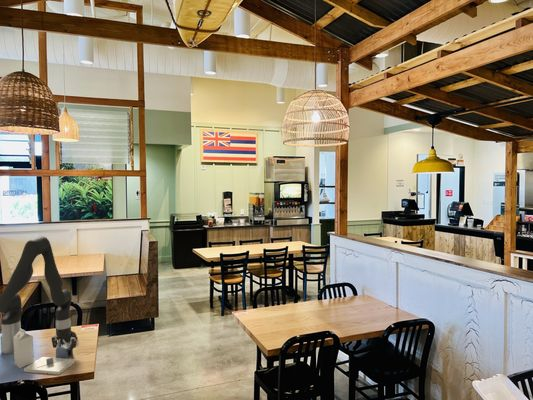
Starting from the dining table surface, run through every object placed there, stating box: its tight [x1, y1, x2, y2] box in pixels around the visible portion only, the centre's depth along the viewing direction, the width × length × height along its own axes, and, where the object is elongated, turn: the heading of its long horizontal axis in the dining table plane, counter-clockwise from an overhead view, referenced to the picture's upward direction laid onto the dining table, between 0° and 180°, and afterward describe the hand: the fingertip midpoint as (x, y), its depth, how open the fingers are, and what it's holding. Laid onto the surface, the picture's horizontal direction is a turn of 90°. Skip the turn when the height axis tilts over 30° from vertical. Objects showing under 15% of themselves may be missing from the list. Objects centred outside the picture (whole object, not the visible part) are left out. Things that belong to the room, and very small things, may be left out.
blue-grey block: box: [55, 344, 74, 359], centre depth 215 cm, size 6×6×5 cm
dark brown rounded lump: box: [61, 330, 78, 346], centre depth 233 cm, size 12×10×8 cm
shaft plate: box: [23, 356, 76, 375], centre depth 203 cm, size 20×13×5 cm, turn 81°
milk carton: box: [13, 328, 35, 369], centre depth 206 cm, size 7×7×19 cm
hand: (64, 355), depth 215 cm, fingers closed on blue-grey block, 6 cm apart
